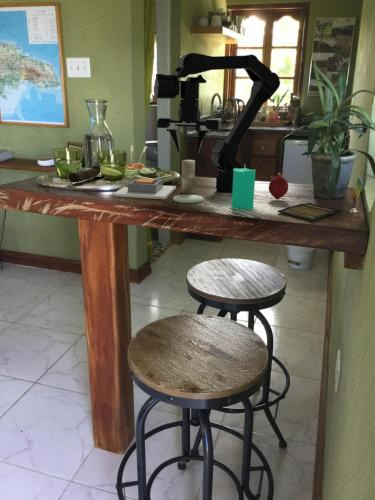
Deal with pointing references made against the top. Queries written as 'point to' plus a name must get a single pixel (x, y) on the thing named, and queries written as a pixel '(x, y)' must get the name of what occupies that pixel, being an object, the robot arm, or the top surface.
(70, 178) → the dark brown elongated bar
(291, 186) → the top surface
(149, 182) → the button
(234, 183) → the candle
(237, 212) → the top surface
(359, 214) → the top surface
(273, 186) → the onion
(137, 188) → the white flat square slab
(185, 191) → the tan cylinder
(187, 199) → the mat
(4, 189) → the top surface
